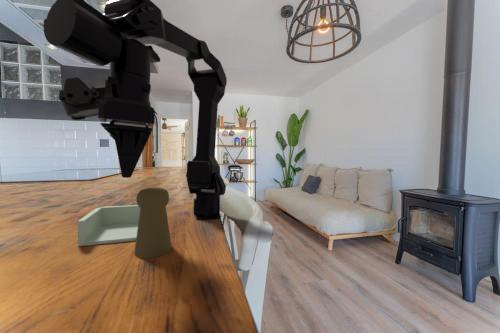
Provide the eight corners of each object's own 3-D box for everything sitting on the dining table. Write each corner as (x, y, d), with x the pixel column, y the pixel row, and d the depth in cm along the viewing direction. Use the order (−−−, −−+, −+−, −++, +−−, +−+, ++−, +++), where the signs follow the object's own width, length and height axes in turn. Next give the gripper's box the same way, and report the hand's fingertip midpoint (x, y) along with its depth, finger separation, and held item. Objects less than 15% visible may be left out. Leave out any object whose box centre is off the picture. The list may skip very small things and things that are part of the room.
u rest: (151, 222, 54) (150, 204, 53) (145, 239, 43) (145, 216, 43) (98, 226, 50) (98, 207, 50) (78, 246, 40) (77, 221, 39)
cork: (128, 259, 35) (128, 191, 34) (140, 244, 41) (139, 185, 40) (168, 256, 36) (168, 190, 36) (174, 242, 42) (173, 185, 42)
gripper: (80, 86, 40) (77, 172, 40) (43, 33, 23) (38, 179, 23) (148, 97, 45) (145, 173, 45) (156, 60, 29) (152, 180, 29)
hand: (127, 175), depth 35 cm, fingers open, 9 cm apart
